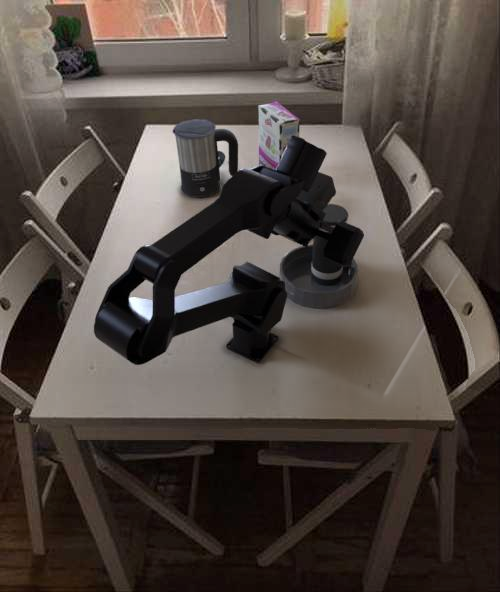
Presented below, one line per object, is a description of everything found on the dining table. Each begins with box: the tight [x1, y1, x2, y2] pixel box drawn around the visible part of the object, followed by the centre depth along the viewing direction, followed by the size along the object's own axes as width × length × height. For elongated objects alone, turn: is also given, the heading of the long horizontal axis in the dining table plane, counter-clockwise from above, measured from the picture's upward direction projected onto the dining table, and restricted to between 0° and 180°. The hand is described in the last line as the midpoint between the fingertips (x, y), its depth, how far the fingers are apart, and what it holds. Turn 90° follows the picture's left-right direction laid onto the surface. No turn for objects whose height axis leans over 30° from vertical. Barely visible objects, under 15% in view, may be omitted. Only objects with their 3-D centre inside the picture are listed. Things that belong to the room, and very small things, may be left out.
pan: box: [279, 243, 359, 309], centre depth 103 cm, size 14×14×4 cm
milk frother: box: [172, 118, 239, 198], centre depth 129 cm, size 14×16×15 cm
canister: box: [311, 203, 349, 286], centre depth 101 cm, size 6×6×14 cm
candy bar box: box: [257, 101, 301, 170], centre depth 128 cm, size 11×5×16 cm, turn 25°
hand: (323, 240), depth 99 cm, fingers open, 9 cm apart
